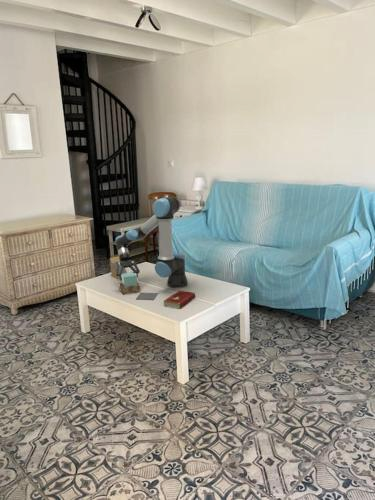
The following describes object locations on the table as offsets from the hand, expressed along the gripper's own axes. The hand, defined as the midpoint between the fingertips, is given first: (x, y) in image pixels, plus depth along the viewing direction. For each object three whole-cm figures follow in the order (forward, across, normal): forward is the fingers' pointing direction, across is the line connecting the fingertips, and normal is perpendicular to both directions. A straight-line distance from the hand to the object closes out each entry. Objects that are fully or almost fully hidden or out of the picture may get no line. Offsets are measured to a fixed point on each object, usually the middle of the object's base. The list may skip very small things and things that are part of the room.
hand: (130, 283), depth 277 cm
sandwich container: (-21, 0, -31) cm, 38 cm away
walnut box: (+3, 0, -7) cm, 8 cm away
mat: (+14, -8, +4) cm, 17 cm away
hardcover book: (+27, -25, +17) cm, 41 cm away
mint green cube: (-1, 0, -4) cm, 4 cm away
